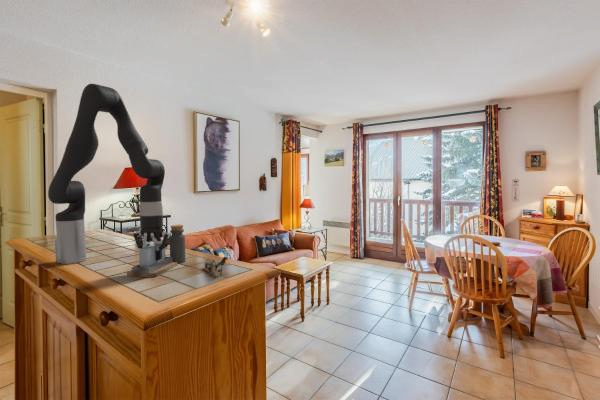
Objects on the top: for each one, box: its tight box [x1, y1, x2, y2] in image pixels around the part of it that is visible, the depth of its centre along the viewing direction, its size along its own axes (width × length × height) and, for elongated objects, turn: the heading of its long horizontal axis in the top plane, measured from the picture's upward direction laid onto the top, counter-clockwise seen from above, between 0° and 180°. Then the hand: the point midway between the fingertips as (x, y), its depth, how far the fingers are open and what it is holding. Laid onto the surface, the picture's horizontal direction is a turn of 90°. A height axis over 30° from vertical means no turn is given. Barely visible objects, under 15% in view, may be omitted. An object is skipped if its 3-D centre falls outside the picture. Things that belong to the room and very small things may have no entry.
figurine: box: [204, 256, 228, 277], centre depth 109 cm, size 6×4×15 cm
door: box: [138, 243, 167, 267], centre depth 110 cm, size 3×11×8 cm, turn 174°
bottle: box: [169, 224, 187, 265], centre depth 122 cm, size 6×6×15 cm
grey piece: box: [126, 256, 178, 278], centre depth 111 cm, size 11×15×3 cm
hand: (153, 259), depth 111 cm, fingers open, 4 cm apart
